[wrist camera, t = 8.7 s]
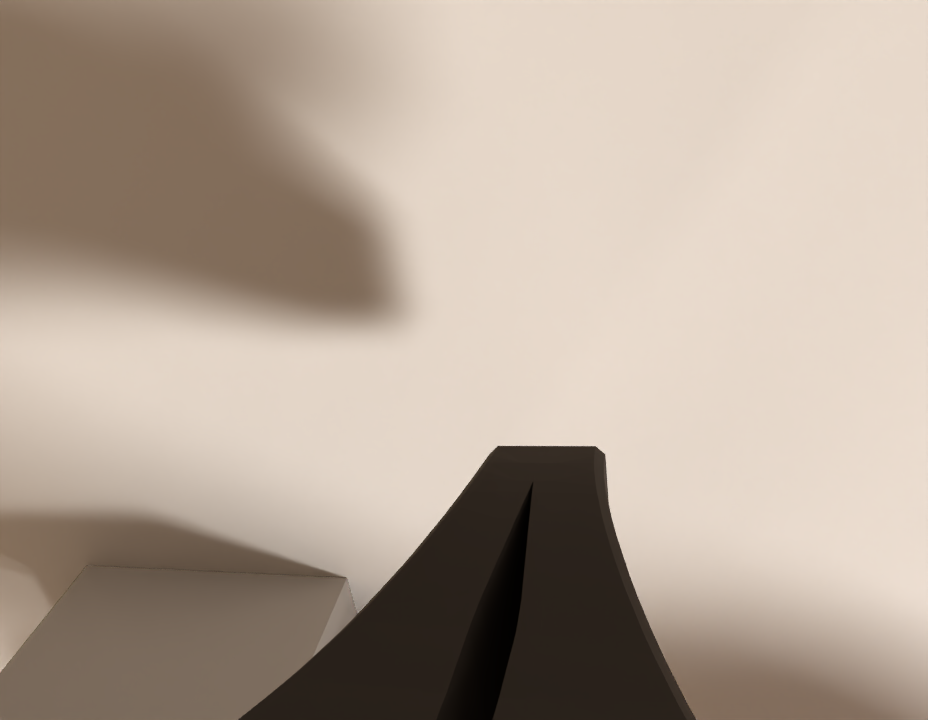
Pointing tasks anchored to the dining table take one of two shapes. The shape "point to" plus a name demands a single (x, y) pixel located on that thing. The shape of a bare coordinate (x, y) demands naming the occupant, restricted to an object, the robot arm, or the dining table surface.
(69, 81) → the dining table surface
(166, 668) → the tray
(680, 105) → the dining table surface
